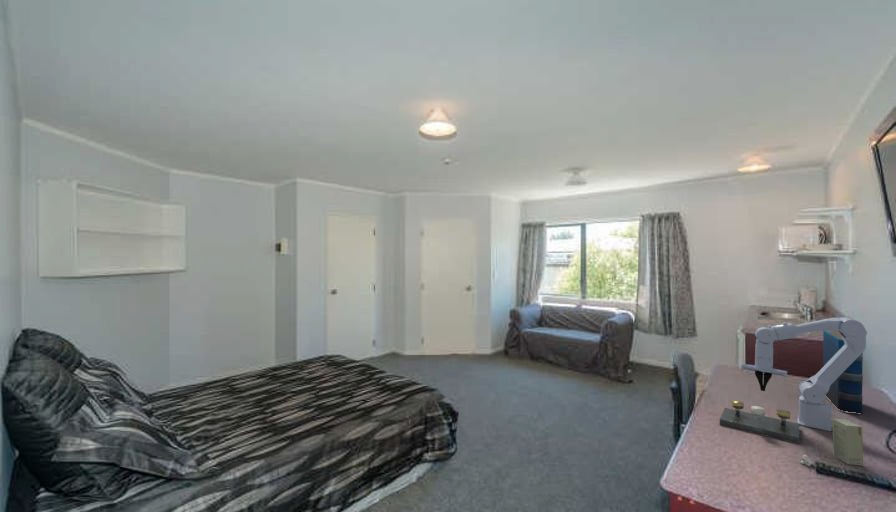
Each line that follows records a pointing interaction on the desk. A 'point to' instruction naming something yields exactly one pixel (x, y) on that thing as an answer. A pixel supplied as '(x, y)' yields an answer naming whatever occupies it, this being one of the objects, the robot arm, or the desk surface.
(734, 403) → the outer brass knob
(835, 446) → the skincare box
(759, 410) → the middle white knob
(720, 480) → the desk surface
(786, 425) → the plate
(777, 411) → the inner brass knob
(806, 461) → the adhesive hook
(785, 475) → the desk surface
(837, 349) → the book
